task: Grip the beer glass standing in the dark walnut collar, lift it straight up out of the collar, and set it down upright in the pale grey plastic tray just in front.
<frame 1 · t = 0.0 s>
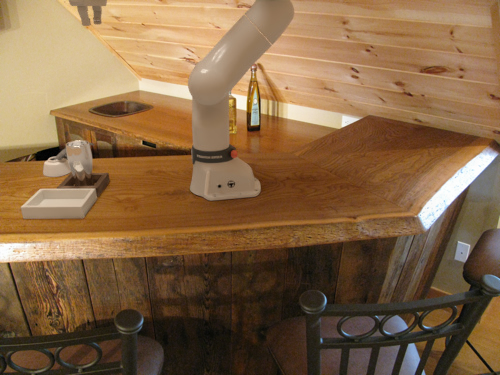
hand: (92, 25, 108), 48 cm above the worktop, fingers open, 8 cm apart
inkwell: (71, 170, 141), on the worktop
beer glass: (85, 189, 127), resting in walnut collar
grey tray: (62, 208, 115), on the worktop
walnut collar: (85, 188, 127), on the worktop
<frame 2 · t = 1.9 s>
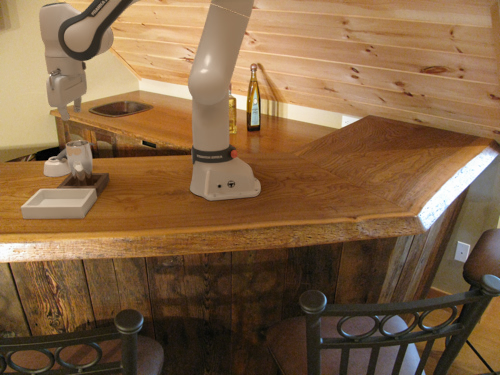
hand: (72, 115, 117), 23 cm above the worktop, fingers open, 8 cm apart
nothing on the worktop moved.
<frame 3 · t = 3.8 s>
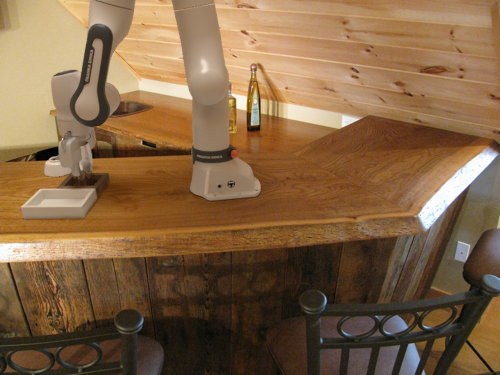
hand: (82, 170, 124), 6 cm above the worktop, fingers closed on beer glass, 6 cm apart
beer glass: (85, 189, 127), resting in walnut collar, touching gripper
everything else where it was.
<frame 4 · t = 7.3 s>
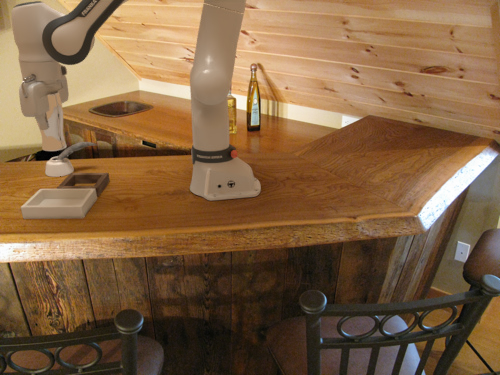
hand: (51, 125, 108), 23 cm above the worktop, fingers closed on beer glass, 6 cm apart
beer glass: (54, 148, 110), point 17 cm above the worktop, touching gripper
everything else where it was.
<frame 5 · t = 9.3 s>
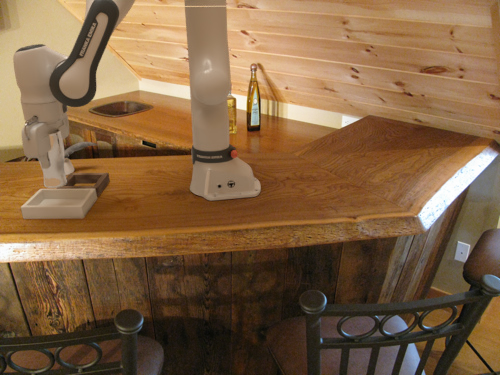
hand: (52, 162, 109), 14 cm above the worktop, fingers closed on beer glass, 6 cm apart
beer glass: (56, 184, 111), point 8 cm above the worktop, touching gripper
everything else where it was.
when the fingers open (8 cm above the worktop, at t = 11.0 s): beer glass drops 1 cm, resting on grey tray.
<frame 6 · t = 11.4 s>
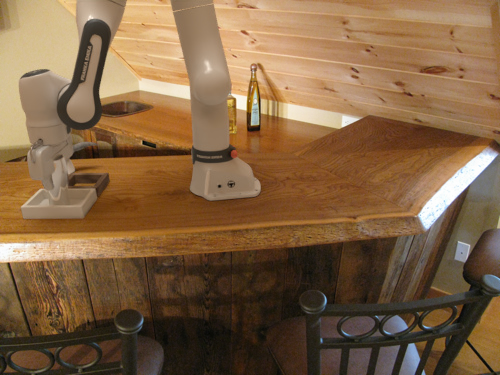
hand: (57, 182, 111), 8 cm above the worktop, fingers open, 8 cm apart
beer glass: (60, 208, 114), resting on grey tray, touching gripper
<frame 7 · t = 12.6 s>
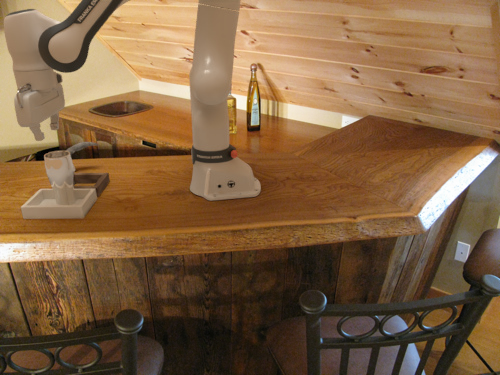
hand: (48, 134, 106), 22 cm above the worktop, fingers open, 8 cm apart
beer glass: (66, 204, 116), resting on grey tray
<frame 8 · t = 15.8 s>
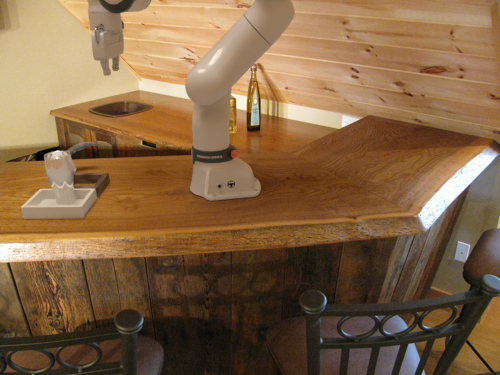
hand: (111, 72, 123), 34 cm above the worktop, fingers open, 8 cm apart
at the end: beer glass inside the target area on the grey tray (1.8 cm from its centre), point 0.4 cm above the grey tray's base; beer glass tilted 0°; the gripper is holding nothing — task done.
